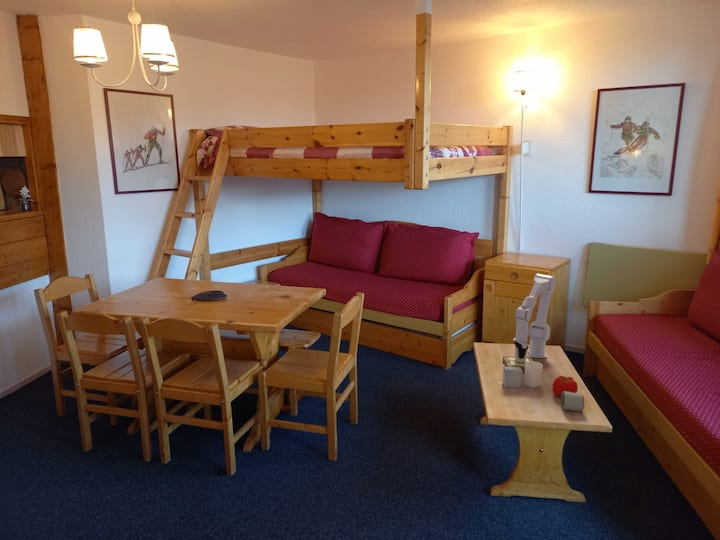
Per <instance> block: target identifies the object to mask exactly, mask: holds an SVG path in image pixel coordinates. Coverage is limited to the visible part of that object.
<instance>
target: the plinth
mask: <svg viewBox="0 0 720 540" xmlns="http://www.w3.org/2000/svg"><path fill="white" fill-rule="evenodd" d="M528 361H533V359H532V357H531V356H526V362H528ZM502 362H503V363H504V367H520V368H521V370H522V373H525V363H526V362H516V360H515V356H502Z"/></svg>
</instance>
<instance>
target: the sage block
mask: <svg viewBox="0 0 720 540" xmlns="http://www.w3.org/2000/svg"><path fill="white" fill-rule="evenodd" d="M527 353H528V350H527V351H526V353H525V356H524V359H520V358H519V352H518V348H517V347H516V346H515V350H514V357H515V360H516V362H526V357H527Z"/></svg>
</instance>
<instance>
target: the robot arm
mask: <svg viewBox="0 0 720 540" xmlns="http://www.w3.org/2000/svg"><path fill="white" fill-rule="evenodd" d="M556 285H557V279H556V277H555V276H554V275H547V274H541V273H536V274H534V277H533V287H532V289H531V291H530V293H529V296H526V297H525V298H524V300H523V302H522V303H521V305H520V306H519V307H517V308H516V309H515V312H514V317H515V322H516V324H515V325H516V326H515V327H516V328H515V337H514V338H513V339H512V341H513V342H514V346H515V347H517V348H518V352H519V358H520V359H524V356H525V353H526V351H527V353H528V354H529V357H531V359H532V358H535V359H541V358H542V359H547V358H548V356H547V355H546V342H547V341H548V340H549V339H550V336H551V327H550V325H549V324H548V323H547V317H548V311H549V307H550V302H551V296H552V293H553V292H555V289H556V287H557V286H556ZM539 296H540V298H539V303H538V309H537V314H536V320H535V321H533V322H531V323H530V322H529V321H530V319H531V318H532V314H533V309H534V308H535V306H536V304H537V298H538V297H539ZM529 323H530V324H529ZM529 325H530V326H529ZM528 337H529V338H530V339H529V340H528ZM528 341H529V345H528ZM527 353H526V354H527Z"/></svg>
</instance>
